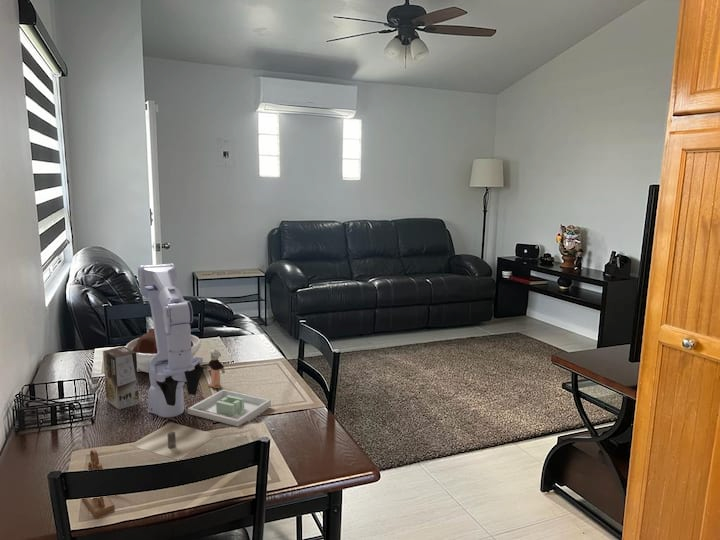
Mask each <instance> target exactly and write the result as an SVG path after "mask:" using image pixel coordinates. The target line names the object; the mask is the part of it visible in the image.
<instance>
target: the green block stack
mask: <svg viewBox="0 0 720 540" xmlns="http://www.w3.org/2000/svg"><path fill="white" fill-rule="evenodd" d="M216 411H217V413H220V414H219V415H221V414H225V415H229V416H234V415H235V414H240V415H242V414H243V413H245V409H244V398H240V397H235V396H231V395H228V396H226V397H224V398H223V399H221V400H220V401H217V402H216ZM217 413H216V414H217ZM225 415H224V416H225ZM229 416H228V417H229Z"/></svg>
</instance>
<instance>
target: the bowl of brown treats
mask: <svg viewBox="0 0 720 540" xmlns="http://www.w3.org/2000/svg"><path fill="white" fill-rule="evenodd" d="M201 342H202V341H201V339H200V338H199V337H198V336H196V335H194V334H191V354H192V358H194V356H195V355H196V354H197V352H198V351H199V349H200V348H201V346H202V343H201ZM125 347H126V348H128V349H130V350H132V351H134V352H136V357H137V370H139V371H141V372H144V373H147V374H149V362H150V360H151V358H152V357H154V356H155V355H156V354H157V353H158V352H157V346H156V339H155V332H154V328H149V329H148V333H143V334H142V335H141V336H140V337H138V338H135V339H133V340H130V342H128V343H126V345H125Z"/></svg>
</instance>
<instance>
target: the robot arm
mask: <svg viewBox="0 0 720 540" xmlns="http://www.w3.org/2000/svg"><path fill="white" fill-rule="evenodd" d="M138 266H139V267H138V268H137V279H138V285H139V291H140V295H141V296H142V297H145V298H146V299H148V302H149V306H150V313H151V317H152V318H151V319H152V326H153V329H154V332H155V339H156V346H157V352H158V353H157V354H156V355H155V356H154V357H152V358H151V360H150V362H149V373H148V376H149V382H150V383H149V384H150V387H149V389H148V391H147V405H148V406H147V407H148V413H149V414H151V413H152V414H154V415H157V416H159V417H161V418H173V417H177V416H180V415H181V414H183V413H184V411H185V408H184V407H185V405H184V404H185V401H184V386H185V385H186V386H187V387H186V388H187V394H188V395H192V396H195V395H197V392H198V387H199V382H200V381H201V380H200V379H201V377H202V375H203V373H204V372H205V367H203V365H204V360H203V357H199V356H195V357H193V358H192V354H191V335H192V333H191V332H192V331H191V324H192V323H193V321H194V312H193V306H192V303H191V301H190V300H185V299H184V296H183V294H182V292H181V290H180V289H179V288H178V287H176V283H177V280H178V279H177V278H178V277H177V275H178V274H177V268H176V265H175V264H174V263H171V262H170V263H164V264H148V265H143V264H140V265H138ZM185 383H186V384H185Z"/></svg>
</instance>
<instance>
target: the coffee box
mask: <svg viewBox="0 0 720 540" xmlns="http://www.w3.org/2000/svg"><path fill="white" fill-rule="evenodd" d="M102 355H103V366H104V367H103V371H104V381H105V394H106V402H107V403H109V404H110V405H112V406H113V407H114V408H116V409H118V410H122V409H125V408H128V407H133V406H137V405H140V397H139V395H140V394H139V381H138V367H137V357H136V352H134V351H132V350H130V349H128V348H126V346H124V345H123V346H118V347H113V348H110V349H106V350H102Z"/></svg>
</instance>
